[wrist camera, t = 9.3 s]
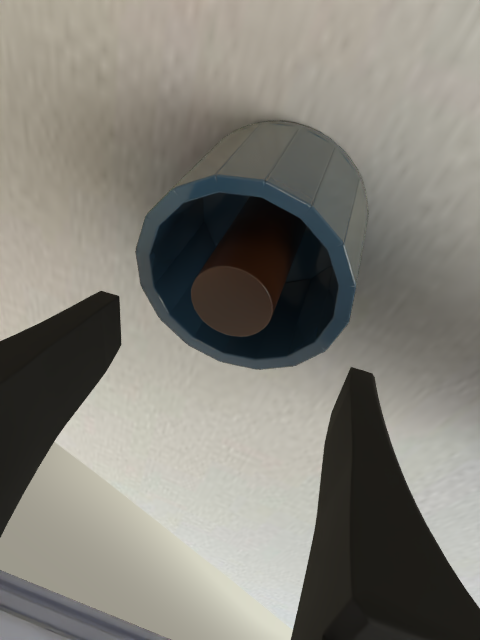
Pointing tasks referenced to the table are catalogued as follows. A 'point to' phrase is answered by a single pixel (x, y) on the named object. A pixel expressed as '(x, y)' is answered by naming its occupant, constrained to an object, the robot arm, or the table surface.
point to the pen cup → (219, 213)
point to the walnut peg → (248, 269)
